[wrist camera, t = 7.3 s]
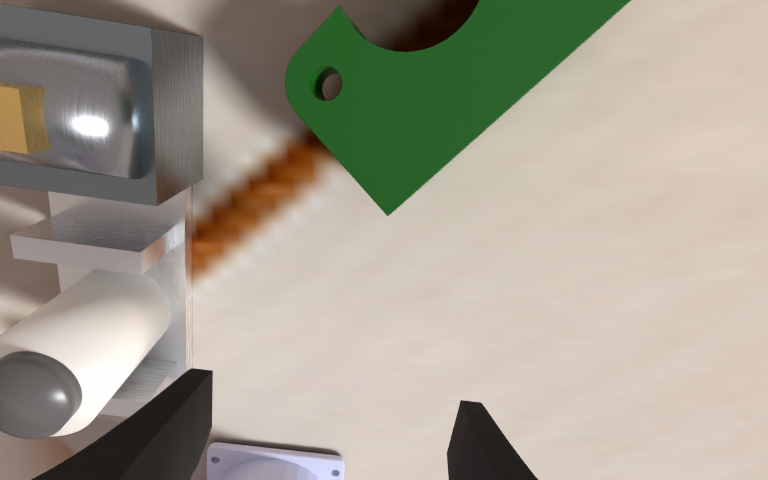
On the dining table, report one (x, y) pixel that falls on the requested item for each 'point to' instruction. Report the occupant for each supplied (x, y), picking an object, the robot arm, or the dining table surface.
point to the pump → (77, 352)
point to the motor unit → (107, 161)
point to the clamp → (430, 87)
